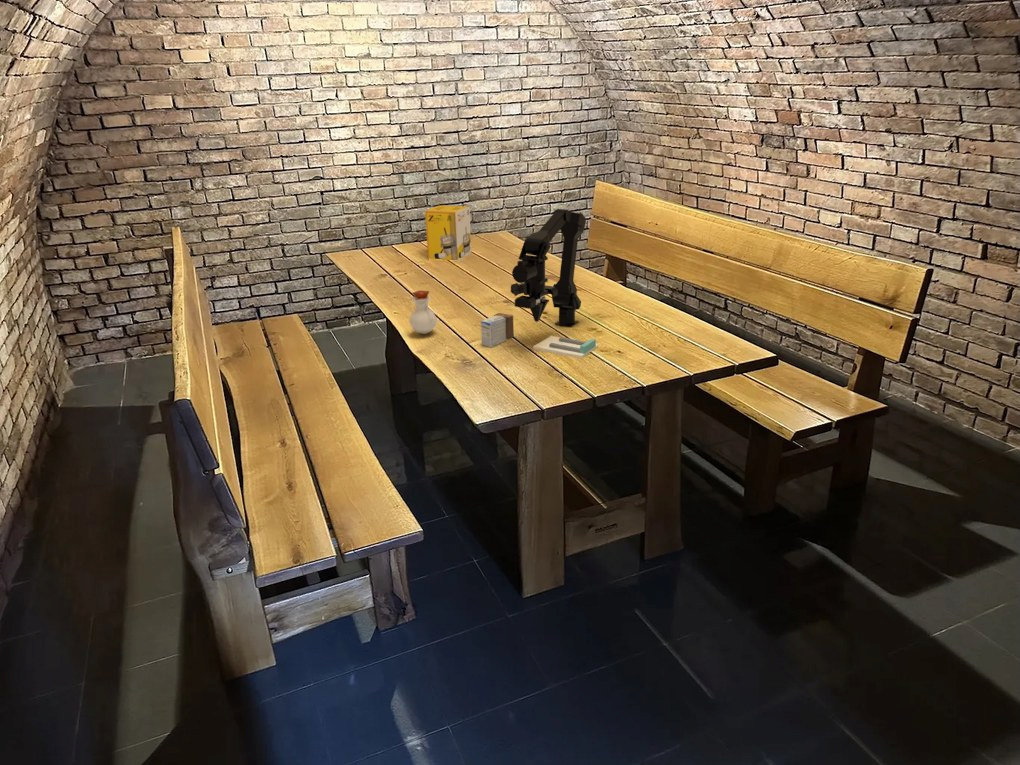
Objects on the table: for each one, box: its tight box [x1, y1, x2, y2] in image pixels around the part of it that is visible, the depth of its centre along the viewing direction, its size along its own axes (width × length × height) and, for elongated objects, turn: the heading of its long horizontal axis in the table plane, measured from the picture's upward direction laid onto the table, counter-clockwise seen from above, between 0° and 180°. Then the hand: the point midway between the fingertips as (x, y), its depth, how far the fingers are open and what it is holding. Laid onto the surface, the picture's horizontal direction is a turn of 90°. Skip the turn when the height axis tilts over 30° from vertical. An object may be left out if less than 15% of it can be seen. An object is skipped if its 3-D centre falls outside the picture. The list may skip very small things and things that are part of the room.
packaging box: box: [424, 205, 472, 260], centre depth 359 cm, size 16×16×25 cm
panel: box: [493, 312, 515, 340], centre depth 252 cm, size 3×8×6 cm
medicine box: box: [480, 315, 507, 348], centre depth 247 cm, size 8×4×9 cm, turn 141°
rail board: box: [532, 335, 599, 359], centre depth 241 cm, size 12×18×4 cm, turn 57°
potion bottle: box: [409, 290, 437, 335], centre depth 256 cm, size 9×10×15 cm
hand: (536, 321), depth 244 cm, fingers closed
